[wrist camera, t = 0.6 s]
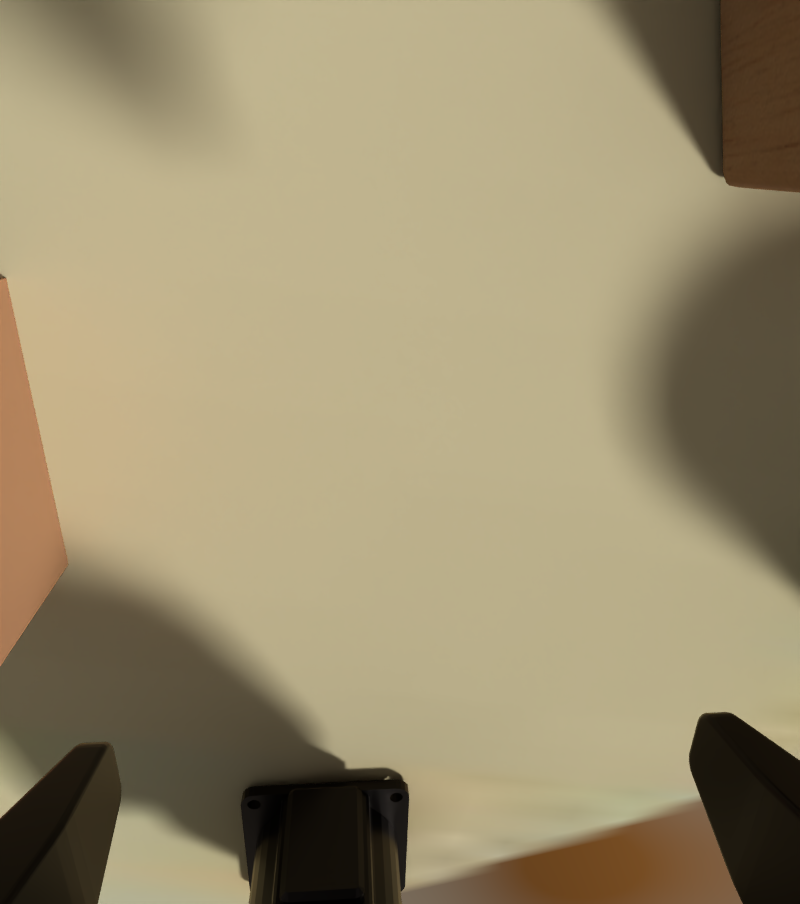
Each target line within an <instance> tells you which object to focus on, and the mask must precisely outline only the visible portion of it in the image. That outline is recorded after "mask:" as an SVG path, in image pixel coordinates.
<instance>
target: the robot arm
mask: <svg viewBox="0 0 800 904" xmlns="http://www.w3.org/2000/svg"><path fill="white" fill-rule="evenodd" d="M689 764H690V769H691V772H692V775H693V778H694V781H695V783H696V786H697V789H698V791H699V794H700V797H701V799H702V802H703V805H704V808H705V810H706V813H707V816H708V818H709V821H710V824H711V826H712V829H713V832H714V834H715V837H716V840H717V842H718V845H719V848H720V850H721V853H722V856H723V858H724V861H725V863H726V866H727V869H728V871H729V873H730V876H731V879H732V881H733V883H734V886H735V888H736V890H737V892H738V894H739V896H740V899H741V901H742V903H743V904H800V760H798V759H797V758H795V757H794V756H793V755H791V754H790V753H788V752H787V751H785V750H784V749H783V748H781V747H780V746H778V745H777V744H776V743H774V742H773V741H771V740H770V739H768V738H767V737H766V736H764V735H763V734H761V733H760V732H758V731H757V730H756V729H754V728H753V727H751V726H750V725H748V724H747V723H746V722H744V721H743V720H741V719H740V718H738V717H737V716H735V715H734V714H731V713H728V712H718V713H705V714H702V715H701V716H700V717H699V719H698V722H697V726H696V730H695V734H694V738H693V741H692V745H691V749H690V753H689ZM120 801H121V782H120V777H119V772H118V768H117V763H116V758H115V753H114V749H113V747H112V745H111V744H110V743H108V742H94V743H81V744H79V745H77V746H76V747H74V748H73V749H72V750H71V751H70V752H69V753H68V754H67V755H66V756H65V757H64V758H63V759H62V760H60V761H59V762H58V763H57V764H56V765H55V766H54V767H53V768H52V769H51V770H50V771H49V772H48V773H47V774H46V775H45V776H44V777H43V778H42V779H41V780H40V781H39V782H38V783H37V784H35V785H34V786H33V787H32V788H31V789H30V790H29V791H28V792H27V793H26V794H25V795H24V796H23V797H22V798H21V799H20V800H19V801H18V802H17V803H16V804H15V805H14V806H13V807H12V808H11V809H9V810H8V811H7V812H6V813H5V814H4V815H3V816H2V817H1V818H0V904H98V900H99V895H100V891H101V886H102V882H103V877H104V873H105V869H106V864H107V860H108V855H109V851H110V846H111V842H112V837H113V833H114V829H115V824H116V820H117V815H118V811H119V806H120ZM408 808H409V792H408V785H407V784H406V783H405V782H404V781H401V780H380V781H359V782H338V783H318V784H297V785H276V786H255V787H250V788H248V789H246V790H245V791H244V792H243V796H242V802H241V810H242V820H243V829H244V838H245V847H246V857H247V866H248V875H249V885H250V898H249V904H402V901H401V891H402V890H403V889H404V887H405V873H406V852H407V830H408Z"/></svg>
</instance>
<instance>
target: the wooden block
mask: <svg viewBox="0 0 800 904" xmlns="http://www.w3.org/2000/svg"><path fill="white" fill-rule="evenodd" d="M720 16H721V74H722V133H723V174H724V177H725V180H726V183H727V184H728V185H730V186H735V187H742V188H753V189H765V190H777V191H788V192H800V0H720Z"/></svg>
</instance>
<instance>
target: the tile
mask: <svg viewBox="0 0 800 904" xmlns="http://www.w3.org/2000/svg"><path fill="white" fill-rule="evenodd" d="M67 566H68V560H67V555H66V551H65V546H64V542H63V537H62V532H61V528H60V523H59V519H58V514H57V509H56V505H55V500H54V496H53V491H52V486H51V482H50V477H49V473H48V468H47V463H46V459H45V454H44V450H43V445H42V441H41V436H40V431H39V427H38V422H37V418H36V413H35V408H34V404H33V399H32V395H31V390H30V385H29V381H28V376H27V372H26V367H25V362H24V358H23V353H22V349H21V344H20V339H19V335H18V330H17V326H16V321H15V317H14V312H13V307H12V303H11V298H10V294H9V289H8V284H7V280H6V278H0V666H1V665H2V663H3V662H4V660H5V659H6V657H7V656H8V654H9V653H10V651H11V650H12V648H13V647H14V645H15V644H16V642H17V641H18V639H19V638H20V636H21V635H22V633H23V632H24V630H25V629H26V627H27V626H28V624H29V623H30V621H31V620H32V618H33V617H34V615H35V614H36V612H37V611H38V609H39V608H40V606H41V605H42V603H43V602H44V600H45V599H46V597H47V596H48V594H49V593H50V591H51V590H52V588H53V587H54V585H55V584H56V582H57V581H58V579H59V578H60V576H61V575H62V573H63V572H64V570H65V569H66V567H67Z"/></svg>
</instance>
